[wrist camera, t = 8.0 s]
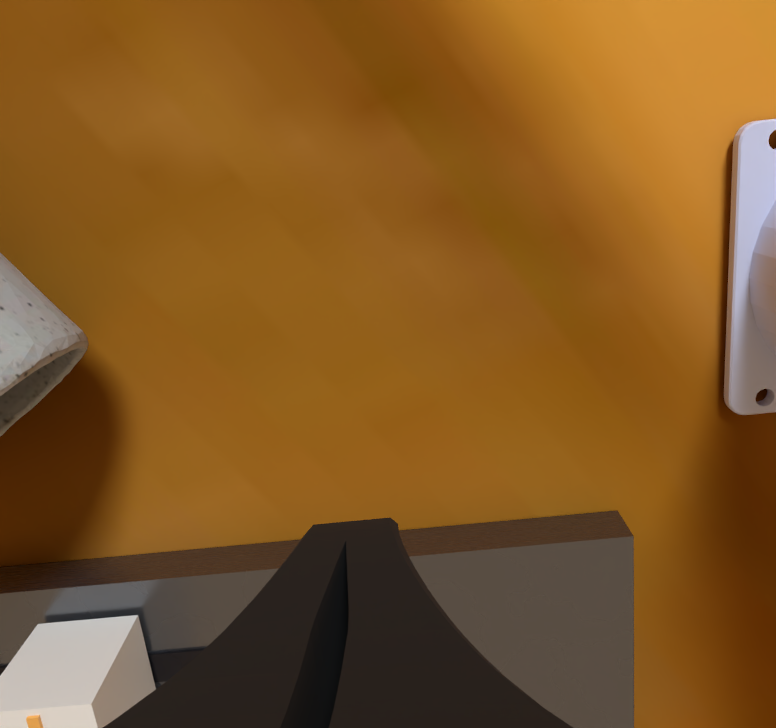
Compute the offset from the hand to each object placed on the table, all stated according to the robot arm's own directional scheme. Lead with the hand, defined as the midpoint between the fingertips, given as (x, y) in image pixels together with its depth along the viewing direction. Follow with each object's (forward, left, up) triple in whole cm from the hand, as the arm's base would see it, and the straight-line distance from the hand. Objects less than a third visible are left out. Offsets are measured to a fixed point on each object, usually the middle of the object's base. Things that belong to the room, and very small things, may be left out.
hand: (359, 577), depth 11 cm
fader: (+9, +8, -8) cm, 15 cm away
